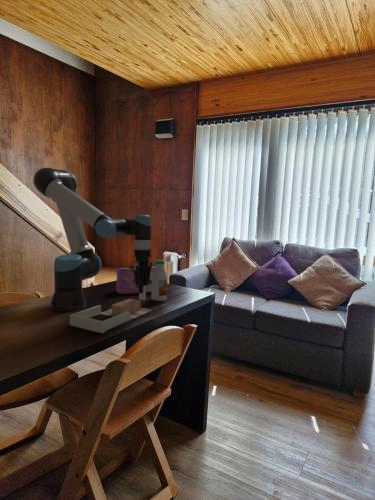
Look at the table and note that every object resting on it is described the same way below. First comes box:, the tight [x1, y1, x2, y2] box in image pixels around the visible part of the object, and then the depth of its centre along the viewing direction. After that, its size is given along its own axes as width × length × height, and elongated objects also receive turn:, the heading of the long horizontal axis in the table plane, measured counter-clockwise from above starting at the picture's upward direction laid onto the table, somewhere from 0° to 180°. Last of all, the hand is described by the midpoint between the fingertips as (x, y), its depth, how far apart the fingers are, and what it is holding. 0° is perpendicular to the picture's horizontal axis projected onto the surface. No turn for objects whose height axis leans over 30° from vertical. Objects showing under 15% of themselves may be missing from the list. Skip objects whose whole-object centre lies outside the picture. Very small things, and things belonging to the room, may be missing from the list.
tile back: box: [121, 298, 142, 313], centre depth 153 cm, size 6×6×4 cm
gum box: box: [116, 264, 156, 295], centre depth 190 cm, size 24×8×14 cm, turn 112°
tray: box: [69, 304, 131, 334], centre depth 136 cm, size 16×16×4 cm
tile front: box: [111, 301, 132, 315], centre depth 148 cm, size 6×6×4 cm
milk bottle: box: [150, 259, 168, 302], centre depth 173 cm, size 8×8×20 cm
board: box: [100, 307, 153, 321], centre depth 151 cm, size 17×16×1 cm
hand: (142, 299), depth 160 cm, fingers closed
